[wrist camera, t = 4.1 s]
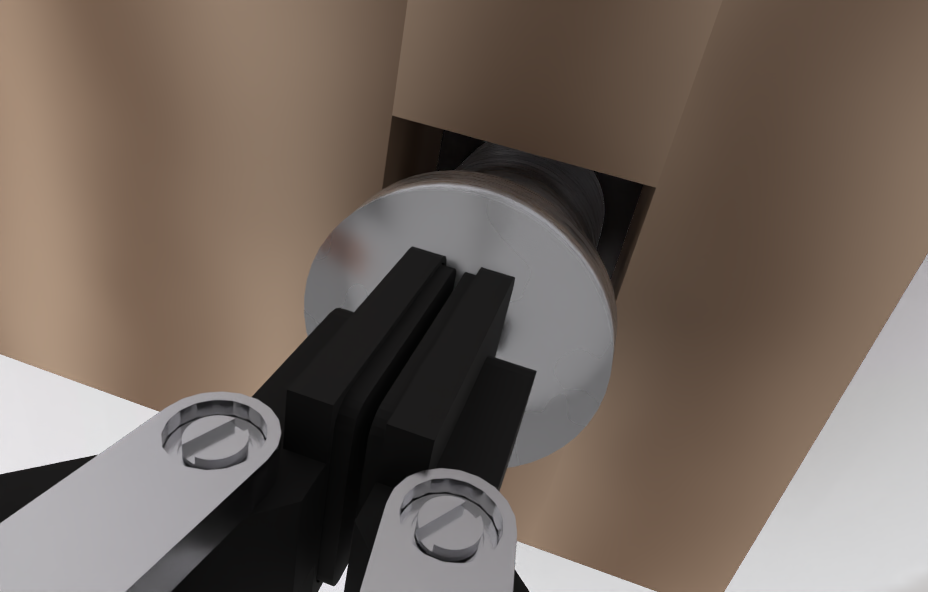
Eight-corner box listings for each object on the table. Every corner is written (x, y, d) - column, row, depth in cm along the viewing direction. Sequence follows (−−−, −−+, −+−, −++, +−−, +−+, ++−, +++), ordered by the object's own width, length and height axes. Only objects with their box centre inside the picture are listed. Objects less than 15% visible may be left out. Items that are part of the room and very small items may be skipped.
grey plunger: (666, 134, 15) (660, 248, 9) (598, 328, 17) (563, 507, 12) (444, 76, 16) (316, 149, 10) (410, 270, 18) (295, 414, 13)
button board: (984, -41, 12) (1100, -35, 9) (705, 493, 19) (712, 611, 16) (-294, -308, 17) (-543, -372, 13) (-146, 207, 24) (-284, 251, 20)
